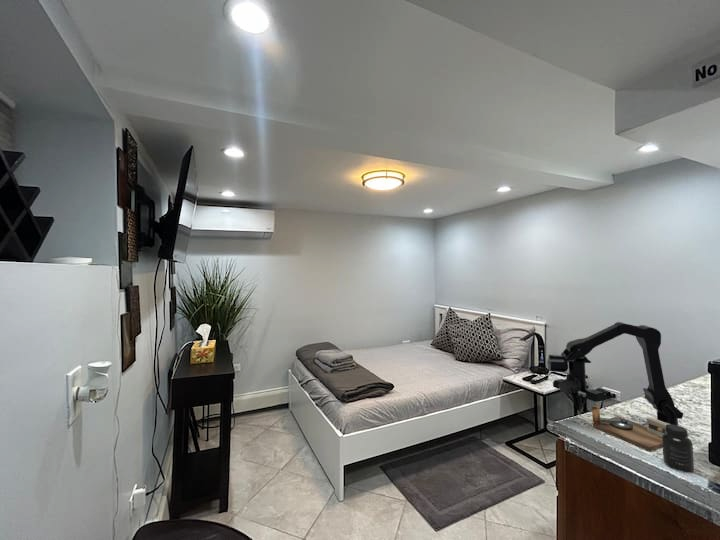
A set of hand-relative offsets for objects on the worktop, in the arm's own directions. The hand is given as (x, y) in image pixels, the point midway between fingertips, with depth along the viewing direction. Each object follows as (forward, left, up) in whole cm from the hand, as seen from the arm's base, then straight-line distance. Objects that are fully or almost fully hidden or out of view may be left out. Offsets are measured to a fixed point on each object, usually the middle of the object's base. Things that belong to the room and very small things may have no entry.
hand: (578, 410), depth 130 cm
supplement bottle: (+1, +32, -5) cm, 33 cm away
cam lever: (-5, +9, -3) cm, 11 cm away
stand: (-7, +15, -4) cm, 17 cm away
